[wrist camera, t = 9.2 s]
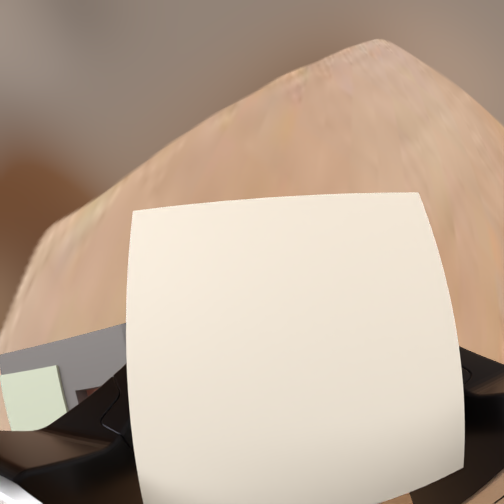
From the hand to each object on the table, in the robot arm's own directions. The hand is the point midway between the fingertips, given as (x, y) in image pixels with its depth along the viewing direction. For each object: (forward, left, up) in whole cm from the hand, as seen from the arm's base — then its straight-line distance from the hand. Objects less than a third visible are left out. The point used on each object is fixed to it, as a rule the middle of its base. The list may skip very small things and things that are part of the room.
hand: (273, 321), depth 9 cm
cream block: (-1, +1, -5) cm, 5 cm away
